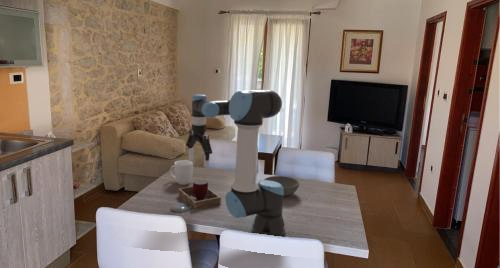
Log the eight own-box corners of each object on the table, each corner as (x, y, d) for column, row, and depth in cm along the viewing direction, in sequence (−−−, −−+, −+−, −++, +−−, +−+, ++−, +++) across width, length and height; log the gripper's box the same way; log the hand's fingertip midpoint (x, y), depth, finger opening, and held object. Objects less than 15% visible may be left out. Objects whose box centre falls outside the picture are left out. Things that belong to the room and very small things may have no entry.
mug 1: (165, 183, 219) (165, 162, 216) (175, 178, 229) (175, 158, 226) (187, 187, 214) (187, 166, 211) (195, 181, 224) (196, 161, 221)
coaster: (193, 209, 183) (193, 208, 183) (174, 213, 178) (174, 212, 178) (185, 202, 192) (185, 201, 191) (167, 206, 186) (167, 205, 186)
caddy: (220, 204, 192) (220, 197, 191) (194, 209, 183) (194, 202, 183) (203, 190, 209) (203, 184, 208) (178, 195, 201) (178, 188, 200)
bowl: (279, 204, 195) (280, 190, 193) (254, 192, 210) (255, 179, 208) (305, 196, 208) (306, 183, 206) (280, 185, 223) (281, 173, 222)
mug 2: (200, 204, 190) (200, 186, 188) (187, 201, 193) (187, 184, 191) (210, 198, 199) (210, 180, 197) (198, 195, 203) (198, 178, 200)
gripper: (219, 127, 182) (218, 167, 186) (191, 119, 199) (190, 156, 204) (207, 129, 177) (207, 170, 181) (179, 120, 194) (179, 158, 199)
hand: (198, 162), depth 193 cm, fingers open, 13 cm apart
